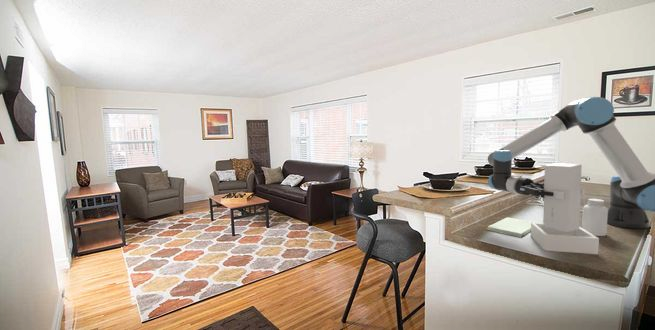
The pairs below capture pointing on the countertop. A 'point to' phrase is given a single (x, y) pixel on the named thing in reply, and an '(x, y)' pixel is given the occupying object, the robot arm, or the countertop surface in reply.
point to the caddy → (565, 239)
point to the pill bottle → (595, 217)
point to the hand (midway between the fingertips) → (573, 194)
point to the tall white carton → (568, 209)
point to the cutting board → (512, 226)
